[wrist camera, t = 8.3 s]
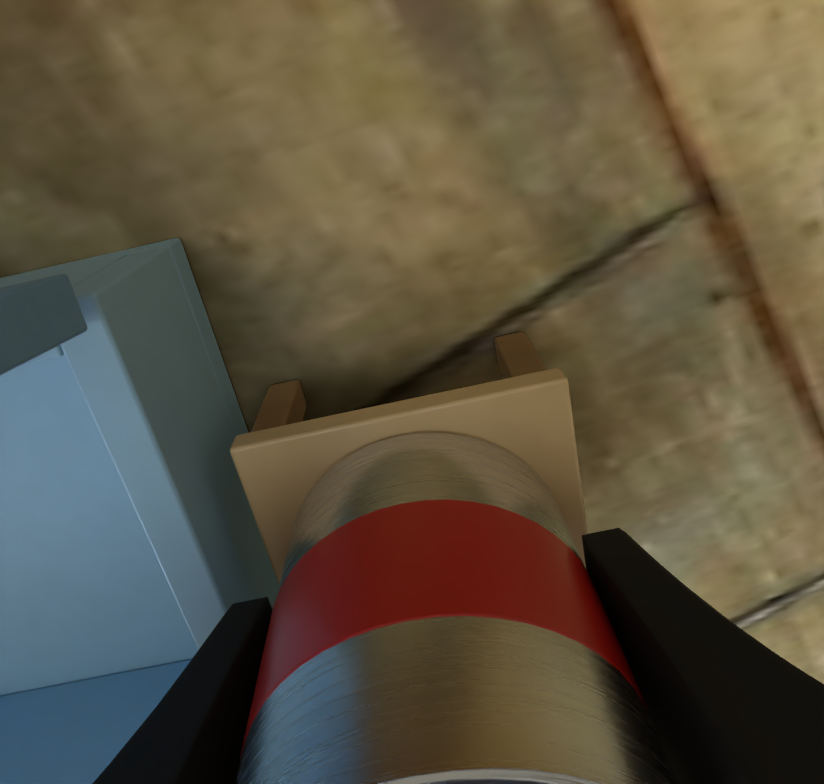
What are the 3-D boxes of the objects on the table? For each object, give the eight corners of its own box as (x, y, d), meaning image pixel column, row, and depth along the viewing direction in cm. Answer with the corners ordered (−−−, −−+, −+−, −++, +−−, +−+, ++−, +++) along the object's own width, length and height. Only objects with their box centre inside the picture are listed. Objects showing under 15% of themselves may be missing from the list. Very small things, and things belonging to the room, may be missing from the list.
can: (580, 630, 13) (734, 1049, 8) (329, 678, 14) (286, 1117, 8) (547, 401, 11) (724, 726, 5) (252, 462, 12) (112, 835, 6)
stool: (563, 546, 17) (602, 642, 14) (330, 592, 17) (319, 695, 14) (530, 321, 14) (568, 378, 11) (259, 379, 14) (227, 450, 12)
